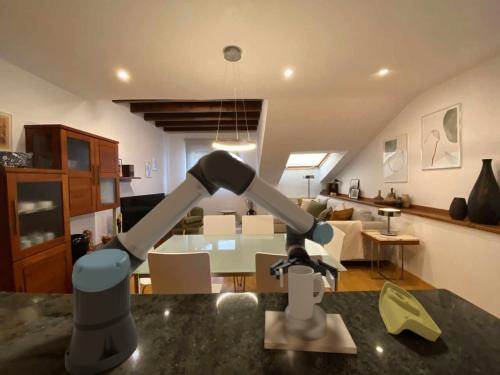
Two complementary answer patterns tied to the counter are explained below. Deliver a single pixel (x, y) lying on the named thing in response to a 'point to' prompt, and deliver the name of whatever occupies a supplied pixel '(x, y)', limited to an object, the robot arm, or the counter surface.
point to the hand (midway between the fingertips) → (307, 283)
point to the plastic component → (405, 313)
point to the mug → (303, 291)
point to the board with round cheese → (307, 332)
